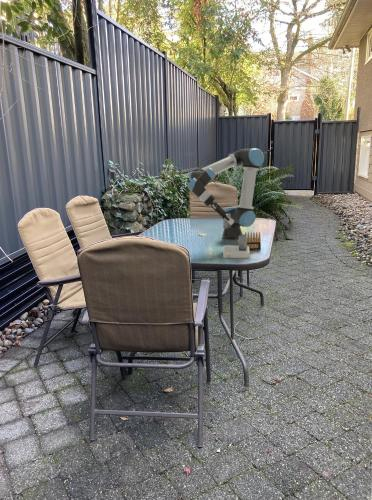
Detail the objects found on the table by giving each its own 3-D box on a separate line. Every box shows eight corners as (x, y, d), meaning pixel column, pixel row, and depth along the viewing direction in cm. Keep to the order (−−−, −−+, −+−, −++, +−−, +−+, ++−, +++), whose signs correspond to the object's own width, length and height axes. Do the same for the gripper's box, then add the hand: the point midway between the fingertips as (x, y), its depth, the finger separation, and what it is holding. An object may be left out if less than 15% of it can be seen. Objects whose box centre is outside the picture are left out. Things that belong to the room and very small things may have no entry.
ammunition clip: (260, 249, 253) (260, 231, 250) (260, 249, 251) (261, 231, 248) (244, 249, 253) (244, 231, 250) (244, 250, 251) (244, 232, 248)
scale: (223, 251, 251) (223, 245, 250) (248, 251, 248) (248, 245, 247) (222, 258, 235) (222, 251, 234) (249, 258, 232) (249, 251, 231)
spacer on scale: (238, 248, 239) (238, 234, 237) (246, 248, 239) (246, 234, 236) (238, 250, 234) (238, 236, 232) (247, 250, 234) (247, 236, 232)
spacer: (223, 227, 257) (223, 213, 255) (230, 227, 256) (230, 213, 254) (223, 228, 252) (222, 215, 250) (230, 228, 252) (230, 214, 249)
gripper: (204, 200, 261) (229, 224, 263) (201, 204, 244) (228, 229, 245) (212, 192, 259) (236, 216, 261) (210, 195, 242) (236, 221, 243)
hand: (232, 222), depth 253 cm, fingers closed on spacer, 5 cm apart
